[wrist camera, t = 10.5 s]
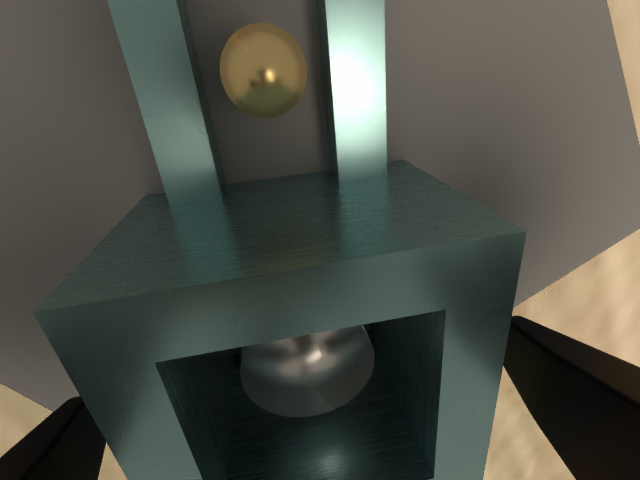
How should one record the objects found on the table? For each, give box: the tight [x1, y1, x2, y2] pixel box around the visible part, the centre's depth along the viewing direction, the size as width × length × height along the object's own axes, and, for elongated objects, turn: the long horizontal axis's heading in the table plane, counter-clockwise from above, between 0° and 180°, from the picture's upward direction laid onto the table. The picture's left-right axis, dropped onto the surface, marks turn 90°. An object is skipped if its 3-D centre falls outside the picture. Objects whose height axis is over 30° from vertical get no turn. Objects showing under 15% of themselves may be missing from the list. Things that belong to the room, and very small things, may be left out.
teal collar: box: [33, 0, 527, 480], centre depth 8 cm, size 12×7×5 cm, turn 5°
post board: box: [0, 0, 640, 412], centre depth 10 cm, size 20×16×1 cm
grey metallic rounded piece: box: [240, 325, 375, 417], centre depth 9 cm, size 3×3×4 cm
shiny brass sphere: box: [220, 23, 307, 118], centre depth 7 cm, size 2×2×2 cm
